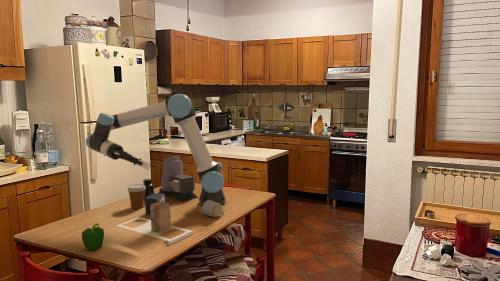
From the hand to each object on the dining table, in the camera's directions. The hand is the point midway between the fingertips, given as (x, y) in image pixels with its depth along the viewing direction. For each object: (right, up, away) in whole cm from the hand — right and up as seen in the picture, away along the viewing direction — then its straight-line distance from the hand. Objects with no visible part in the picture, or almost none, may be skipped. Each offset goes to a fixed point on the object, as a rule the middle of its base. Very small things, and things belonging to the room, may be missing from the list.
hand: (148, 166), depth 179 cm
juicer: (+3, -21, +54) cm, 59 cm away
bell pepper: (-16, -32, -25) cm, 43 cm away
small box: (-1, -26, +16) cm, 31 cm away
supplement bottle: (-12, -23, +45) cm, 51 cm away
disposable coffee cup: (-14, -24, +30) cm, 41 cm away
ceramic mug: (+30, -26, +15) cm, 42 cm away
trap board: (+4, -29, -7) cm, 30 cm away
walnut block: (+8, -28, -9) cm, 30 cm away
